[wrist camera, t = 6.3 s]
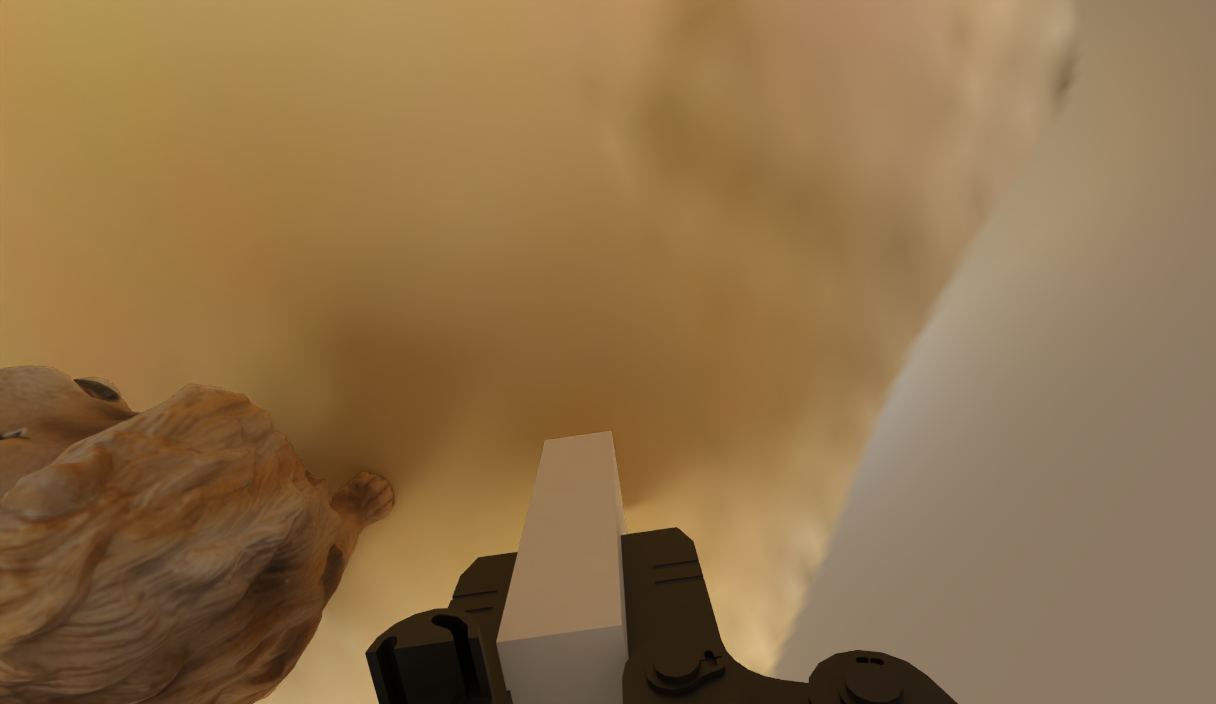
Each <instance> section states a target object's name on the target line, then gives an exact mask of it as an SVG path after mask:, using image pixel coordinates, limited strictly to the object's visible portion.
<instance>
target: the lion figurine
mask: <svg viewBox="0 0 1216 704" xmlns="http://www.w3.org/2000/svg"><path fill="white" fill-rule="evenodd" d="M393 505H394V499H393V491H392V489H391V487H390V485H389V484H388V482H387V481H386V480H385V479H384V478H382V477H381V476H377V475H374V474H371V473H368V472H362V473H360V474H358V475H357V476H356V477H354V478H353V479H352V480H351V481H350V482H349V483H348V484H347V486H346V487H345V488H342V489H339V490H338V491H337V492H336V493H335V494H334V496H333V498H332V501H331V503H330V505H329V482H328V481H327V480H325V479H319V478H317V477H314V476H312V475H311V474H310V473H309V472H307V471H306V470H305V469H304V467H303V465H302V462H301V460H300V459H299V457H298V456H297V455H296V453H295V451H294V448H293V446H292V445H291V444H290V443H289V442H288V441H287V438H286V436H285V435H283V434H281V433H279V432H277V431H276V430H275V429H274V428H273V426H272V420H271V418H270V415H269V414H268V413H267V412H266V411H265V410H263V409H261V408H259V407H257V406H255V405H254V404H252V403H251V402H250V401H249V399H248V398H247V397H246V396H245V395H244V394H239V393H231V392H229V391H228V390H226V389H223V388H221V387H211V386H202V385H196V384H188V385H186V386H185V387H184V388H183V389H182V390H180V391H179V392H178V393H177V394H175V395H174V396H173V397H171V398H170V399H168V400H167V401H165V402H163V403H161V404H159V405H157V406H156V407H154V408H152V409H150V410H147V411H145V412H143V413H134V412H132V411H131V410H130V409H129V407H128V406H127V404H126V403H125V402H124V400H123V399H122V398H121V395H120V393H119V390H118V389H117V387H116V386H115V385H114V384H113V383H111V382H110V381H109V380H106V379H101V378H96V377H89V378H82V379H75V380H73V379H72V378H71V377H69V376H68V375H67V374H65V373H63V372H61V371H59V370H57V369H55V368H50V367H44V366H19V367H10V368H4V369H0V704H253V703H255V702H256V701H258V700H261V699H263V698H266V697H267V696H269V695H270V694H271V693H272V692H273V691H274V690H275V688H276V687H277V686H278V684H279V683H280V682H281V681H282V680H283V679H284V678H285V677H286V676H287V675H288V674H289V673H290V671H291V670H292V669H293V668H294V666H295V664H296V662H297V661H298V659H299V657H300V656H301V654H302V653H303V651H304V650H305V648H306V647H307V645H308V644H309V642H310V641H311V639H312V638H313V636H314V634H315V632H316V630H317V627H318V625H319V623H320V620H321V618H322V611H323V609H324V608H325V606H326V604H327V602H328V601H329V599H330V598H331V596H332V595H333V593H334V592H335V590H336V589H337V587H338V585H339V582H340V580H341V577H342V574H343V572H344V569H345V567H346V565H347V563H348V560H349V557H350V556H351V554H352V552H353V550H354V548H355V546H356V543H357V540H358V537H359V534H360V533H361V531H362V530H363V529H364V528H365V527H366V526H368V525H369V524H371V523H373V522H375V521H377V520H380V519H382V518H384V517H385V516H387V515H388V514H389V512H390V511H391V509H392V507H393Z"/></svg>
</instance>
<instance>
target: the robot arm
mask: <svg viewBox="0 0 1216 704" xmlns="http://www.w3.org/2000/svg"><path fill="white" fill-rule="evenodd" d="M452 597H453V600H451V601H450V604H449V607H448V608H444V609H433V610H429V611H425V612H422V613H418V614H415V615H413V616H410V617H408V618H406V619H404V620H402V621H400V622H398V623H396V624H394V625H393V626H392V627H390V628H389V629H388V630H386V631H385V632H384V633H382V634H381V635H380V636H379V637H377V638H376V640H375V641H374V642H373V644H372V645H371V646H370V647H369V649H368V650H367V651H366V653H365V654H366V658H367V661H368V665H369V669H370V672H371V676H372V680H373V683H374V687H375V690H376V694H377V698H378V701H379V704H958V703H956V702H955V701H954V700H953V699H952V698H951V697H950V696H949V695H948V694H947V693H945V692H944V691H943V690H942V689H941V688H940V687H939V686H938V685H937V684H936V683H935V682H934V681H933V680H931V679H930V678H929V677H928V676H927V675H926V674H924V673H923V672H921V671H920V670H918V669H917V668H915V667H914V666H913V665H911V664H910V663H908V662H907V661H904V660H901V659H899V658H896V657H893V656H890V655H888V654H885V653H881V652H872V651H862V650H855V651H849V652H844V653H837V654H835V655H833V656H831V657H829V658H827V659H826V660H824V661H822V662H820V663H819V664H818V665H817V667H816V668H815V670H814V671H813V673H812V674H811V676H810V677H809V683H803V682H795V681H787V680H780V679H775V678H771V677H766V676H763V675H760V674H758V673H755V672H753V671H751V670H748V669H747V668H745V667H744V666H742V665H741V664H739V663H738V662H736V661H735V660H734V659H733V658H732V656H731V655H730V654H729V653H728V652H727V651H726V649H725V647H724V645H723V643H722V641H721V637H720V634H719V630H718V627H717V623H716V620H715V616H714V613H713V609H712V606H711V602H710V599H709V595H708V591H707V588H706V584H705V581H704V579H703V574H702V570H701V567H700V563H699V560H698V556H697V553H696V549H695V546H694V542H693V541H692V540H691V539H690V538H689V537H688V536H687V535H685V534H684V533H683V532H682V531H681V530H680V529H678V528H677V527H675V528H668V529H661V530H654V531H647V532H640V533H633V534H628V533H627V527H626V520H625V514H624V508H623V501H622V495H621V488H620V482H619V475H618V469H617V463H616V456H615V450H614V443H613V437H612V430H611V431H604V432H597V433H591V434H584V435H577V436H570V437H563V438H556V439H549V440H545V442H544V446H543V450H542V454H541V459H540V463H539V467H538V471H537V475H536V479H535V483H534V488H533V492H532V496H531V500H530V504H529V508H528V512H527V517H526V521H525V525H524V529H523V533H522V537H521V541H520V546H519V550H518V552H513V553H506V554H499V555H492V556H485V557H478V558H477V559H476V560H475V561H474V563H473V564H472V565H471V566H470V567H469V568H468V569H467V570H466V571H465V572H464V573H463V574H462V575H461V576H460V578H459V581H458V583H457V586H456V588H455V591H454V594H453V596H452Z"/></svg>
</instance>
